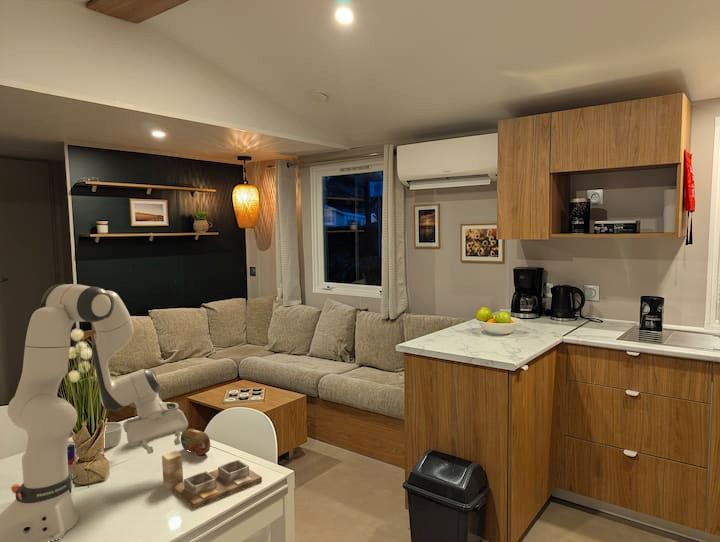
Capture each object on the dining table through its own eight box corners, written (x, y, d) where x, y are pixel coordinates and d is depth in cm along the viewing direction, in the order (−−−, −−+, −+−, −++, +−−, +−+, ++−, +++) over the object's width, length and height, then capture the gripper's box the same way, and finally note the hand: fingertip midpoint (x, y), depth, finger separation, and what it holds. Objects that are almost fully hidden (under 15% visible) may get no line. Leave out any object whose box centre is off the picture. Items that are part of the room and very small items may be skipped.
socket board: (193, 508, 154) (193, 494, 154) (172, 490, 166) (171, 477, 166) (261, 481, 170) (261, 468, 170) (237, 466, 182) (237, 454, 182)
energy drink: (70, 482, 173) (67, 448, 172) (56, 480, 174) (54, 447, 174) (81, 474, 179) (79, 441, 178) (68, 473, 180) (66, 440, 179)
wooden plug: (169, 489, 167) (167, 459, 166) (163, 484, 170) (161, 455, 170) (183, 483, 170) (181, 455, 169) (177, 479, 174) (175, 450, 173)
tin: (180, 449, 198) (179, 428, 198) (187, 446, 201) (186, 425, 200) (205, 458, 190) (204, 436, 189) (212, 454, 192) (211, 433, 192)
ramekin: (116, 435, 214) (115, 419, 214) (127, 444, 205) (126, 427, 204) (82, 445, 205) (80, 428, 204) (92, 454, 195) (91, 437, 195)
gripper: (123, 417, 171) (135, 453, 165) (181, 402, 185) (195, 435, 179) (119, 426, 175) (131, 462, 169) (177, 411, 189) (190, 443, 182)
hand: (164, 448), depth 174 cm, fingers open, 8 cm apart
